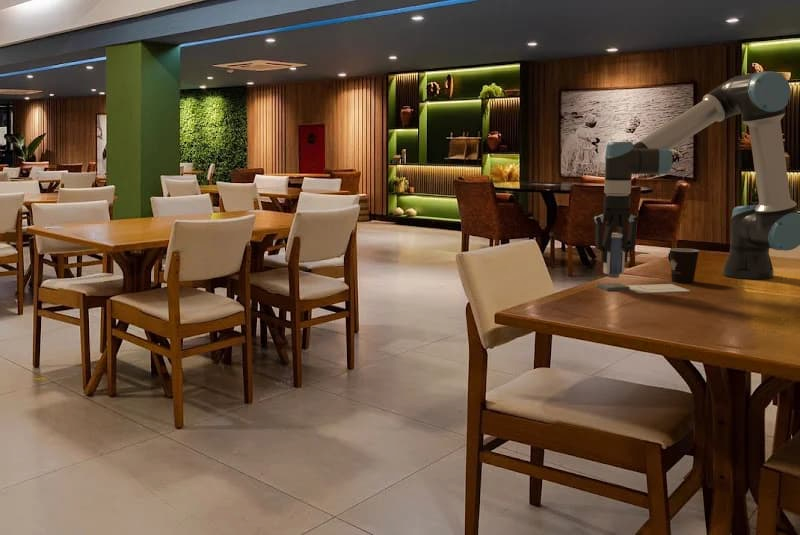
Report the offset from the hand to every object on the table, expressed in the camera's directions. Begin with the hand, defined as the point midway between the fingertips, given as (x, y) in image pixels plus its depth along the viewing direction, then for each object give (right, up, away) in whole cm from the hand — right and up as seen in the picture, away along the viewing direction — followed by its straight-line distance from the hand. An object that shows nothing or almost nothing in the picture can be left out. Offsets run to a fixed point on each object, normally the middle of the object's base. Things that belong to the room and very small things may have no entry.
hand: (613, 273), depth 227 cm
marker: (0, -1, 0) cm, 1 cm away
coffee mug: (+25, -3, +14) cm, 29 cm away
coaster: (0, -5, +1) cm, 5 cm away
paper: (+12, -5, 0) cm, 13 cm away
